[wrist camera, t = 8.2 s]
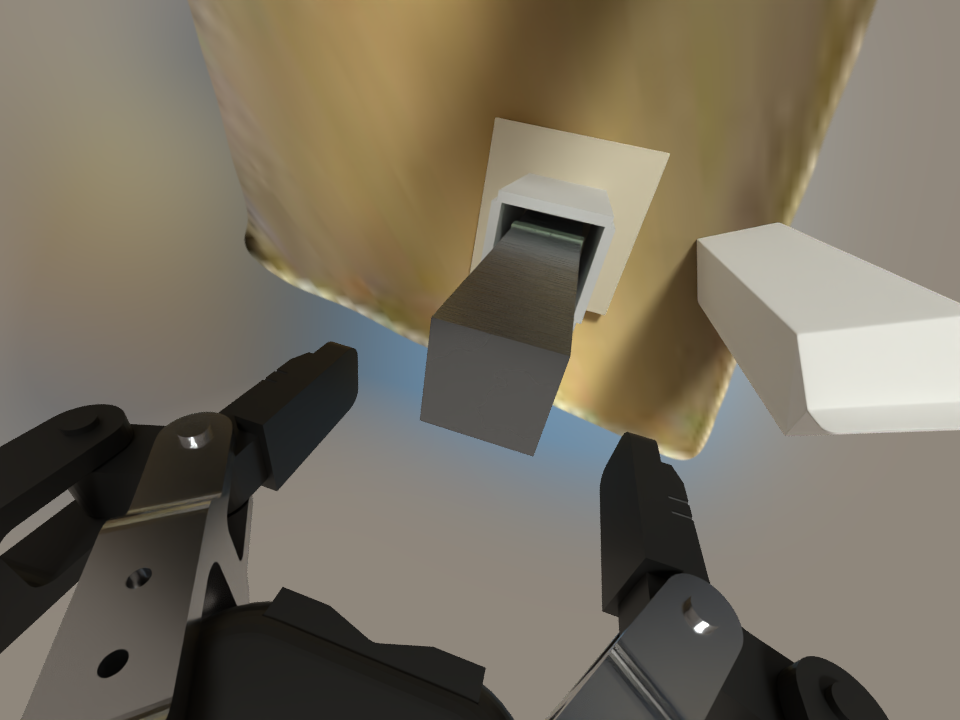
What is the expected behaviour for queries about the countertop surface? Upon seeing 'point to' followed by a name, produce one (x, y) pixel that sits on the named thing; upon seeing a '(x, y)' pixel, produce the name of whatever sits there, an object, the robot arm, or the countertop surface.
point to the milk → (831, 334)
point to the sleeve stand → (570, 198)
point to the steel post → (506, 336)
